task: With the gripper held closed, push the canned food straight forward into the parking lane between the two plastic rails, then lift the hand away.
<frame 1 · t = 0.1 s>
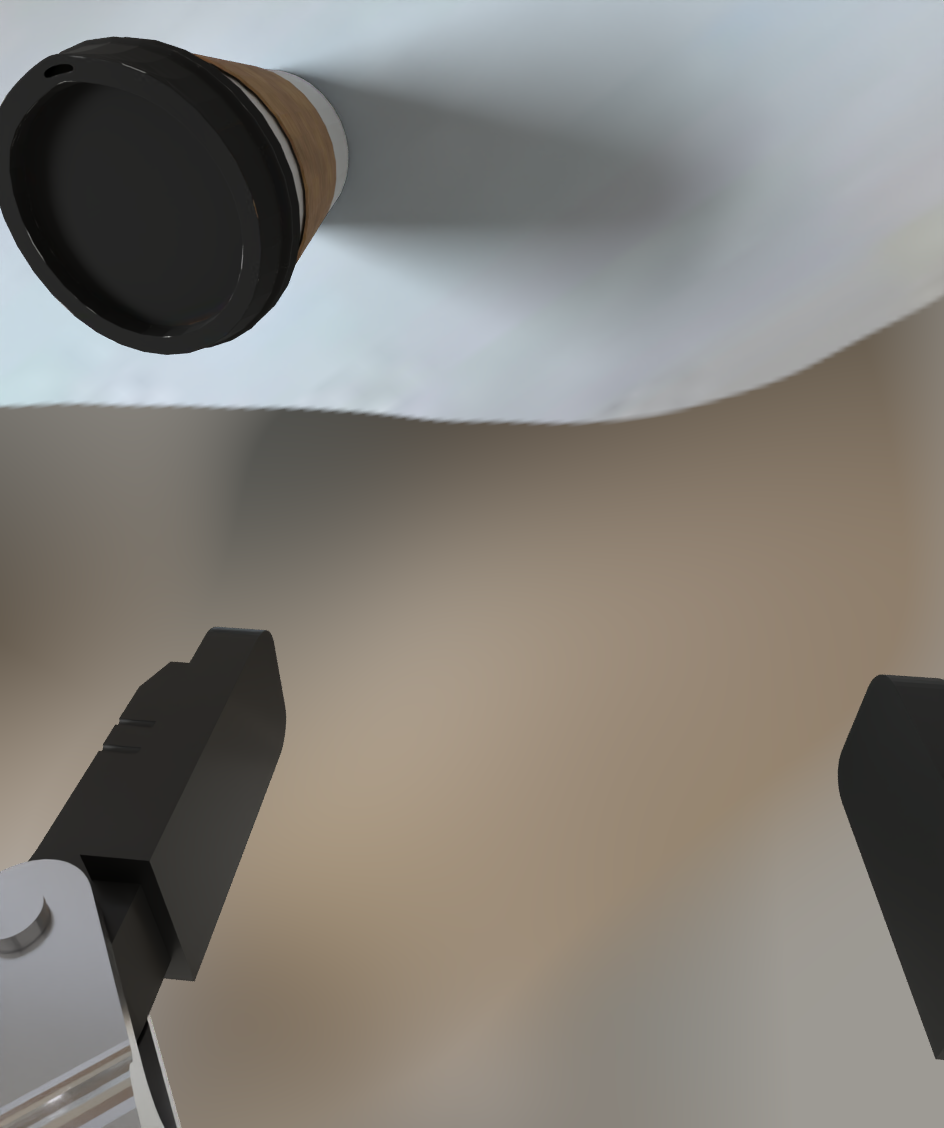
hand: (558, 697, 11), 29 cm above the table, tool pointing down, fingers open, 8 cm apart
coffee cup: (283, 149, 34), on the table
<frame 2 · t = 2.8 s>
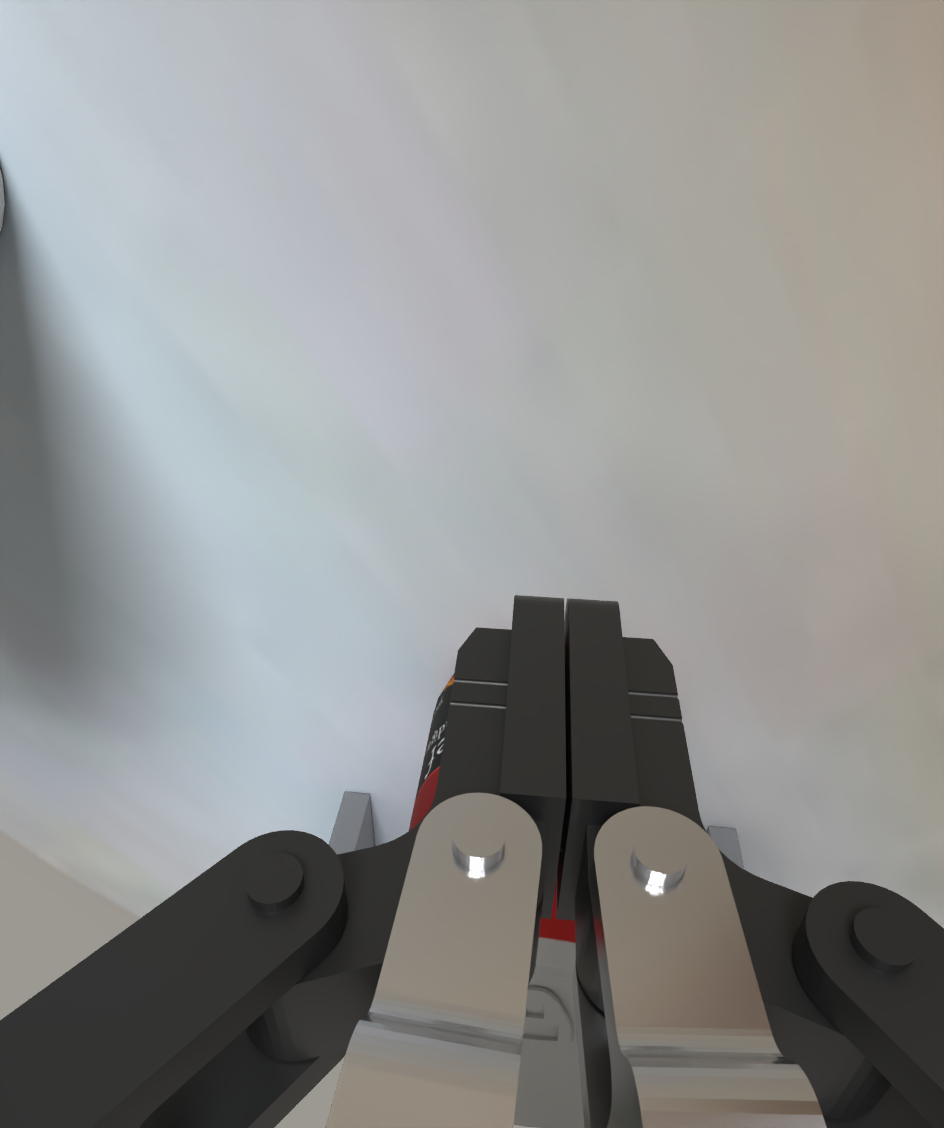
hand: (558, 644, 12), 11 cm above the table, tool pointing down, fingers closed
canned food: (544, 712, 27), on the table
lane rails: (529, 886, 33), on the table
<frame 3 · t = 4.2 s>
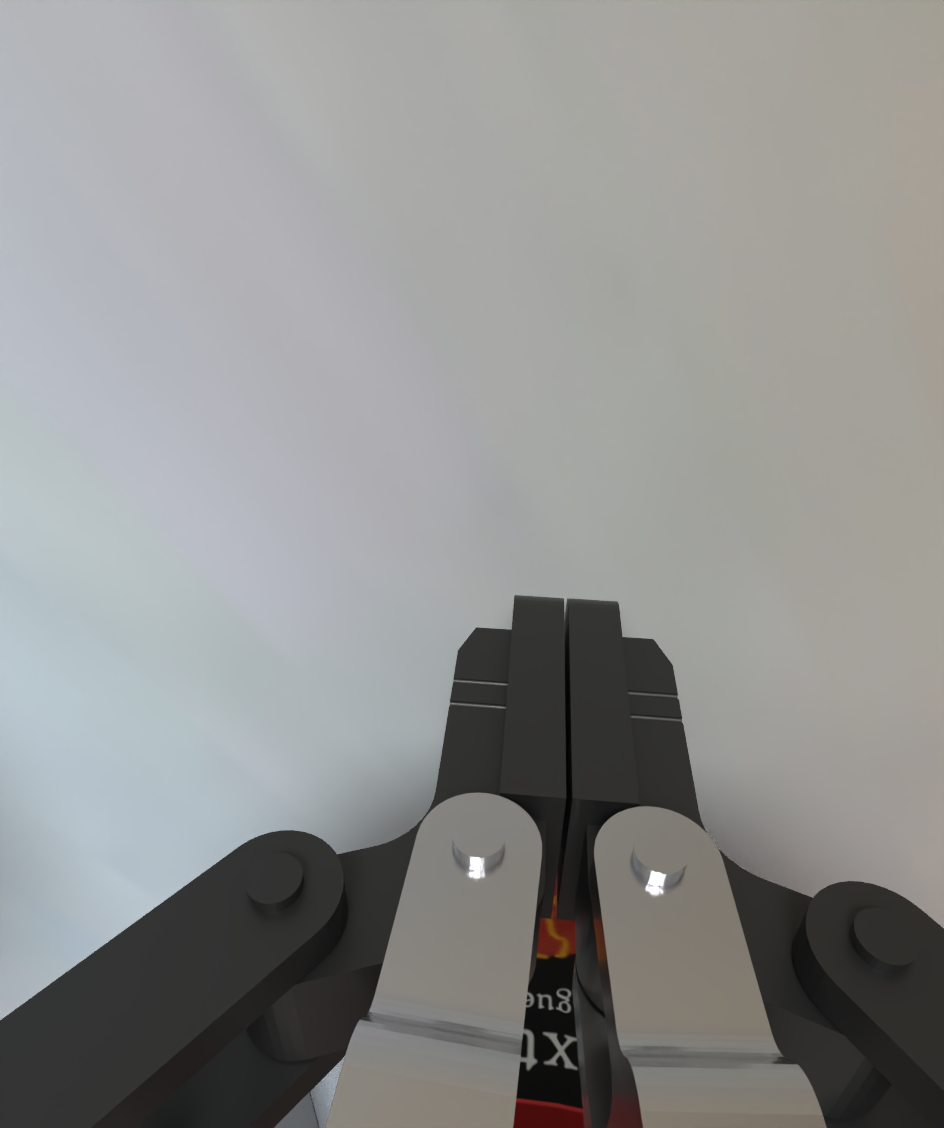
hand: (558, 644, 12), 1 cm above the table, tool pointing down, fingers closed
canned food: (524, 943, 19), on the table
lane rails: (509, 1119, 25), on the table
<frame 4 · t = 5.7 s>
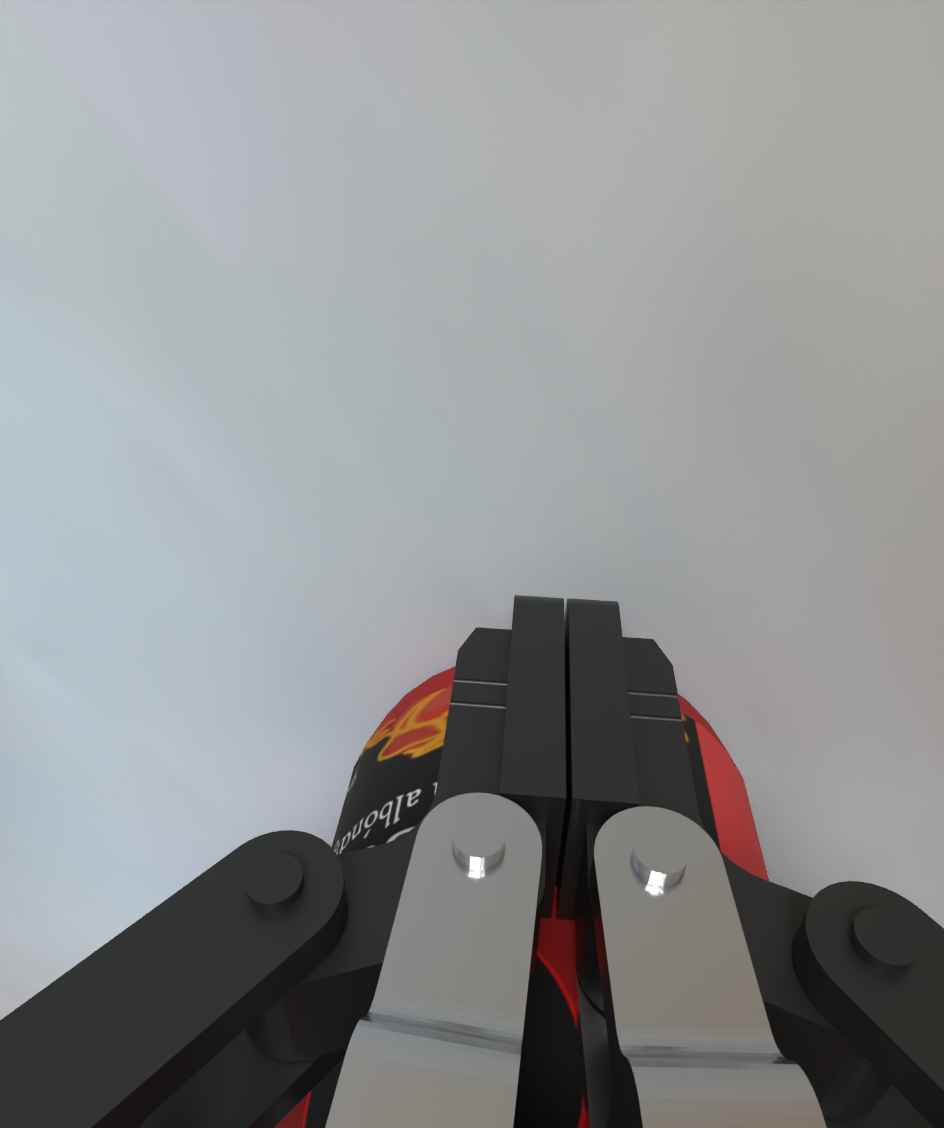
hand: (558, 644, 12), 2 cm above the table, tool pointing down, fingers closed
canned food: (544, 779, 16), on the table, touching gripper
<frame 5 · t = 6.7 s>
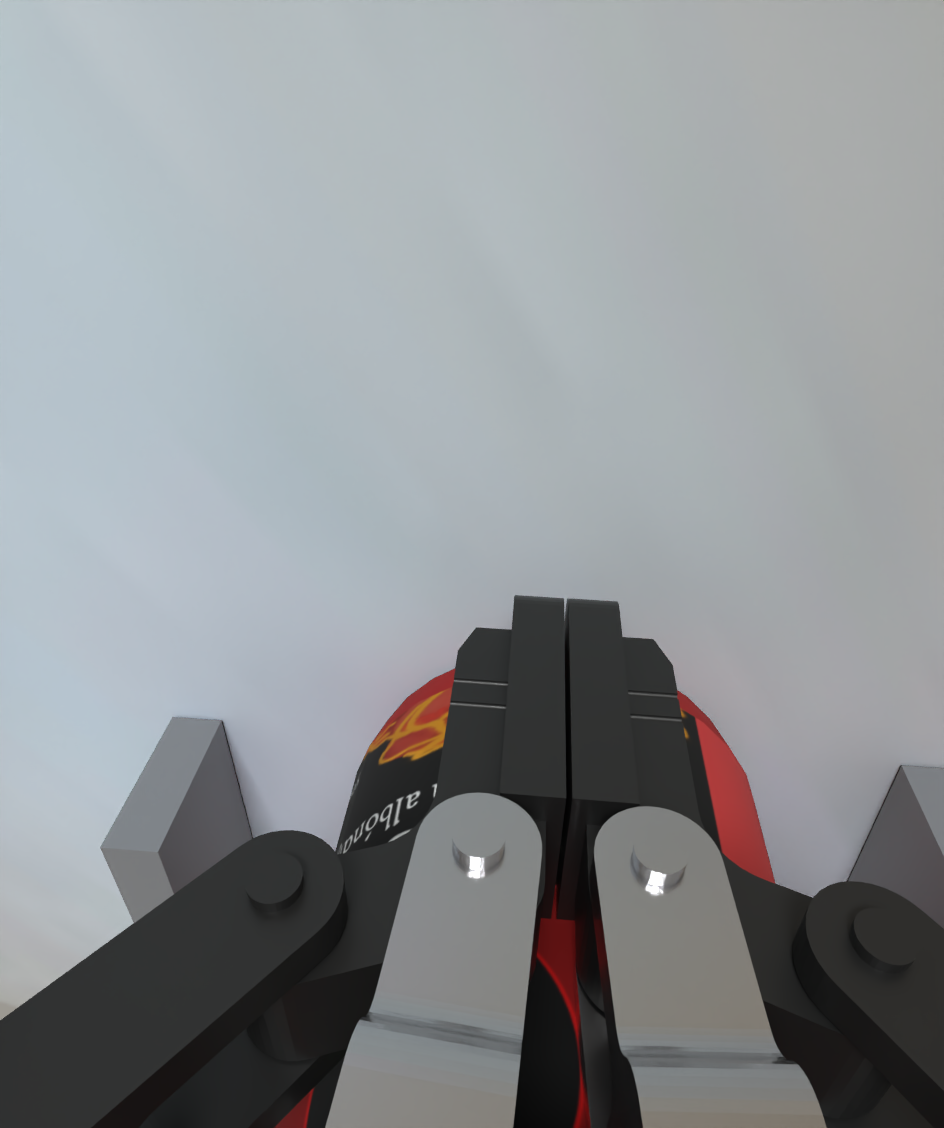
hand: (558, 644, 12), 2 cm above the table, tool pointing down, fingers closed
canned food: (549, 780, 16), on the table, touching gripper
lane rails: (538, 893, 18), on the table
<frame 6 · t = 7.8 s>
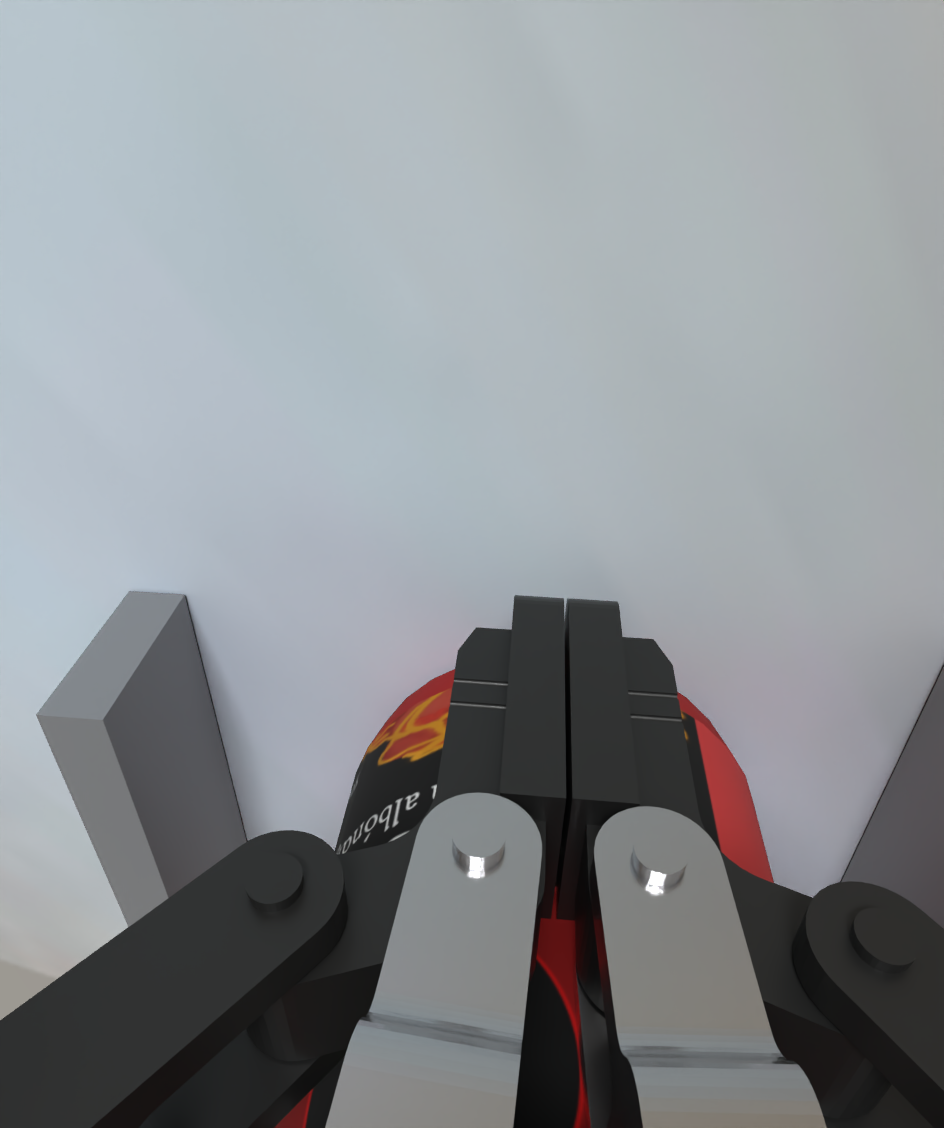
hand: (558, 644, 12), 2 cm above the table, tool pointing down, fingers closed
canned food: (548, 780, 16), on the table, touching gripper
lane rails: (539, 807, 16), on the table
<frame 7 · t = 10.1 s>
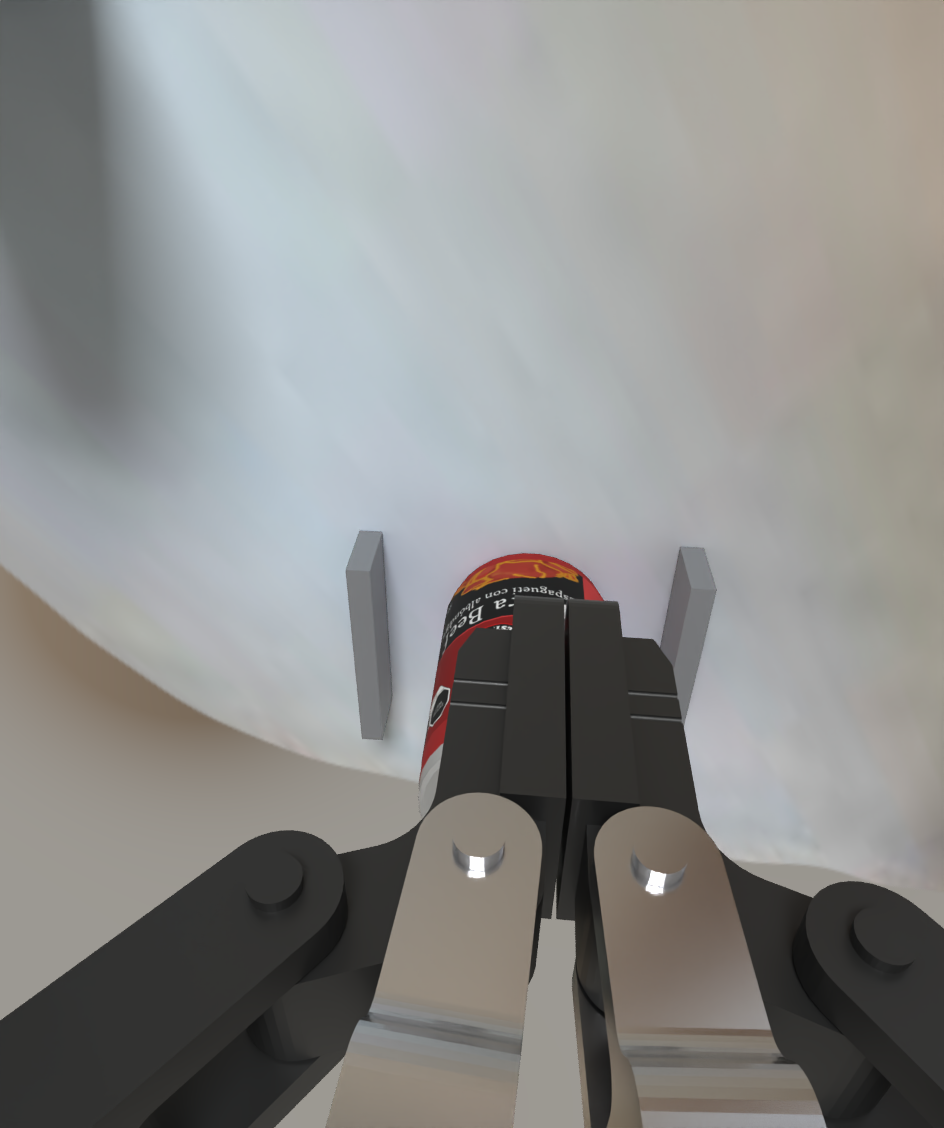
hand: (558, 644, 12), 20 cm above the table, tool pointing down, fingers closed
canned food: (527, 615, 37), on the table
lane rails: (523, 627, 37), on the table
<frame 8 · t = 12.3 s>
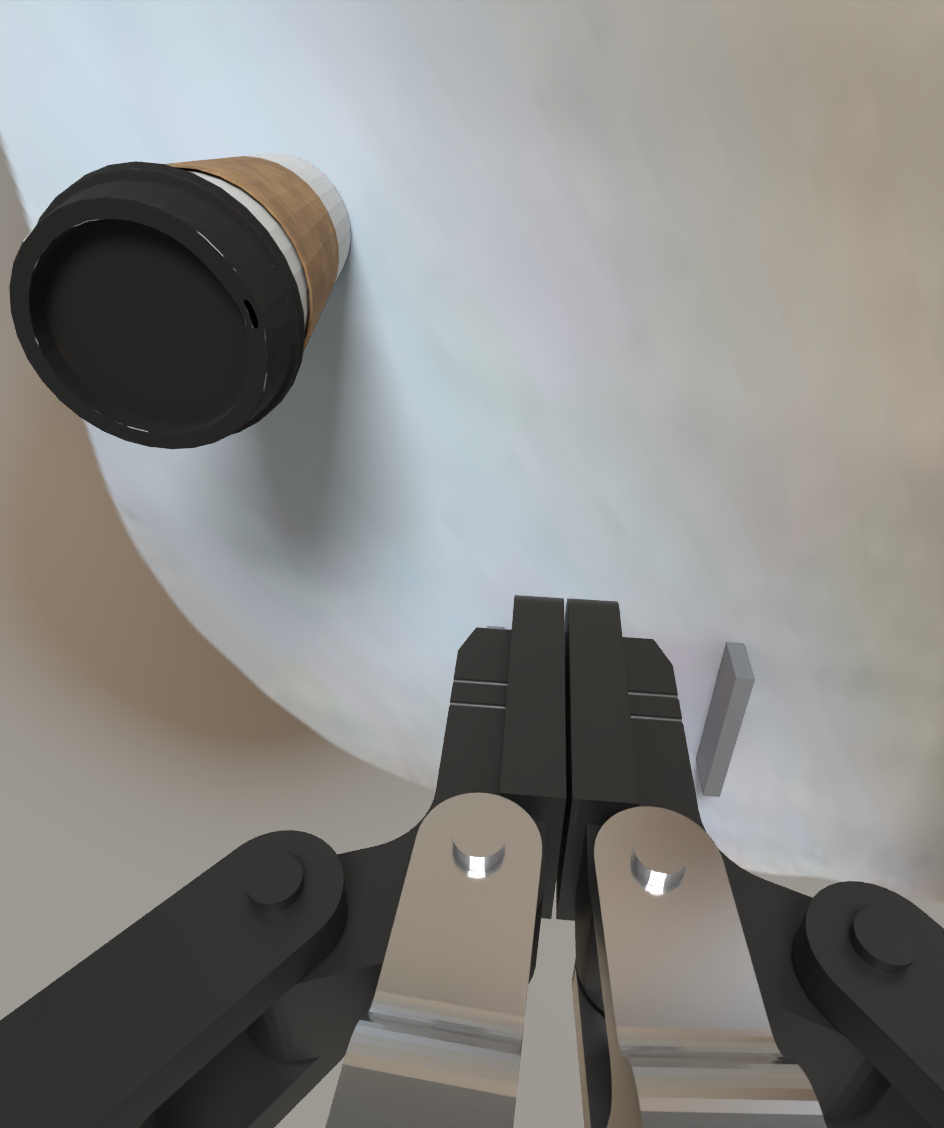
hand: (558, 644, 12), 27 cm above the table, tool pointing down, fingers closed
coffee cup: (286, 226, 35), on the table
lane rails: (605, 696, 49), on the table
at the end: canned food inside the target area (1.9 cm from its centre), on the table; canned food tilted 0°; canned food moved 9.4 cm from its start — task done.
